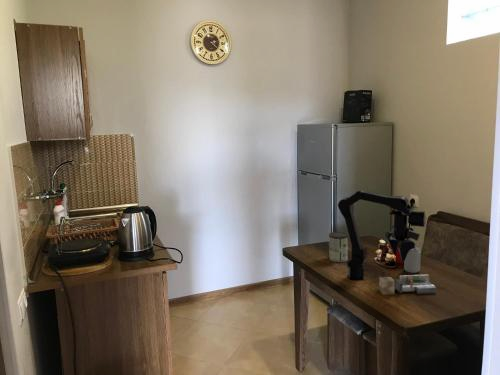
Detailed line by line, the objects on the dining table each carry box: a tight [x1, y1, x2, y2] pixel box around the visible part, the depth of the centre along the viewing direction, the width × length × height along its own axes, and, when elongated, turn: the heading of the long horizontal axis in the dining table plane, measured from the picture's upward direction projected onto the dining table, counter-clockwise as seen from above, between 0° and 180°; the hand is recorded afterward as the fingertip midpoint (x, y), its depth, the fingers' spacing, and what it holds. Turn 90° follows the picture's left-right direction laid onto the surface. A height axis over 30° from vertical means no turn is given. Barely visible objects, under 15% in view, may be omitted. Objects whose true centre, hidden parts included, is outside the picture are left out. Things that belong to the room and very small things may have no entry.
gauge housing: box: [399, 274, 437, 295], centre depth 181 cm, size 13×9×5 cm
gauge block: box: [378, 276, 396, 295], centre depth 180 cm, size 5×5×6 cm
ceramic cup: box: [387, 241, 404, 265], centre depth 219 cm, size 13×17×10 cm
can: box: [403, 246, 421, 274], centre depth 203 cm, size 8×8×12 cm
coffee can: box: [328, 231, 349, 263], centre depth 224 cm, size 10×10×14 cm
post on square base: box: [394, 278, 435, 294], centre depth 180 cm, size 16×5×5 cm, turn 91°
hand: (399, 257), depth 186 cm, fingers open, 9 cm apart
